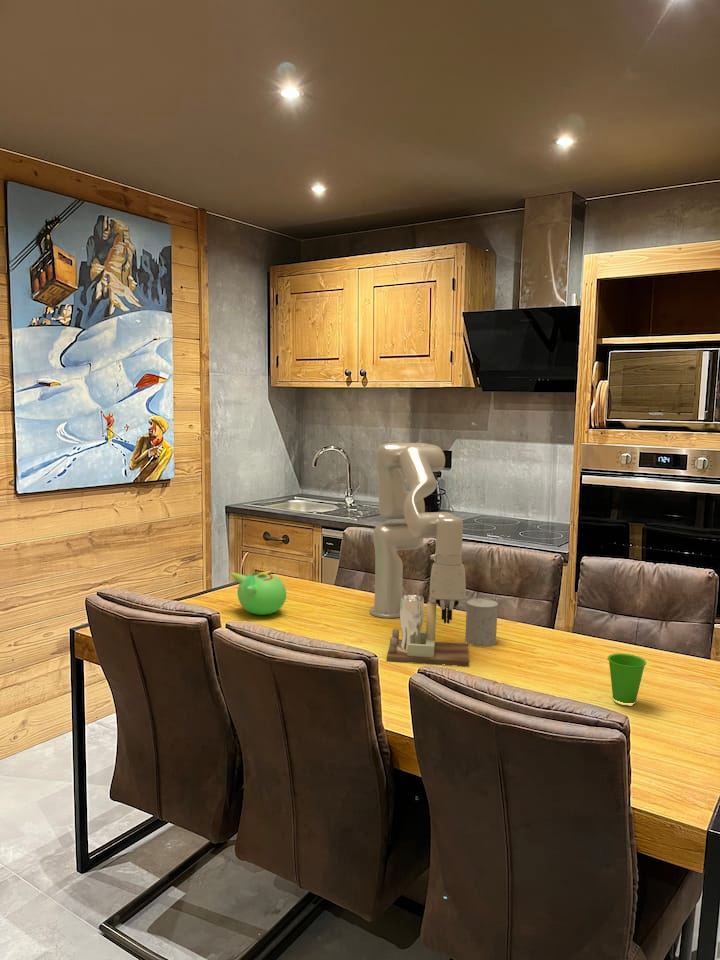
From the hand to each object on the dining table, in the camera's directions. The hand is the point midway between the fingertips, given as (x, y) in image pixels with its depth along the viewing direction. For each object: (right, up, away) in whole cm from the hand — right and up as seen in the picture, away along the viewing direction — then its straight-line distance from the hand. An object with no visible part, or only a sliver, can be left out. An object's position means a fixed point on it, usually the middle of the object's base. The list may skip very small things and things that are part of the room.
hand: (446, 621), depth 210 cm
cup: (+41, -15, -29) cm, 52 cm away
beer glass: (-10, -8, +2) cm, 13 cm away
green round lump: (-59, -5, +39) cm, 71 cm away
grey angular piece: (-7, -8, +2) cm, 11 cm away
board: (-5, -10, +2) cm, 11 cm away
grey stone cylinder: (+12, -9, +15) cm, 21 cm away
